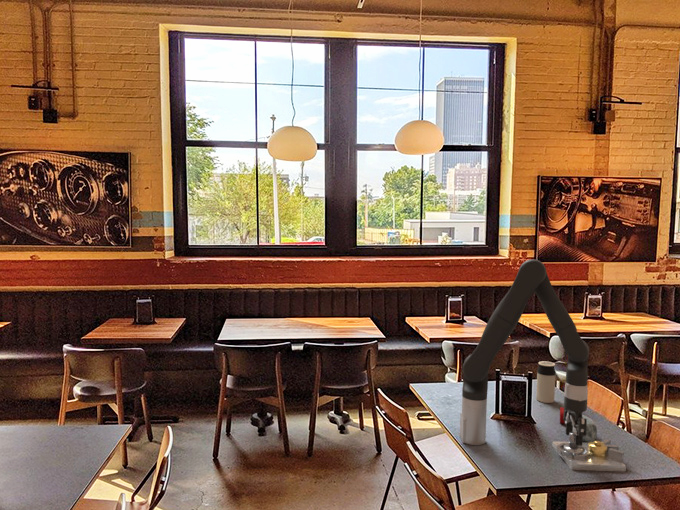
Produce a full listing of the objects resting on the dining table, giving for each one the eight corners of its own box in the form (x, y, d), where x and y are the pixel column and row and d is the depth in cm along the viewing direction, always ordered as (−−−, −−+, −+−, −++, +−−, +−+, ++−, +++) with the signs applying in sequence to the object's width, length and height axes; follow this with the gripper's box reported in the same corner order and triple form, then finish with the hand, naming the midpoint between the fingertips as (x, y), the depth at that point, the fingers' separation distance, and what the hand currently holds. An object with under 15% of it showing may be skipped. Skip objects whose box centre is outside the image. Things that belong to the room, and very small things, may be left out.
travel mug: (557, 403, 240) (558, 365, 239) (539, 403, 240) (541, 365, 239) (550, 397, 248) (551, 361, 247) (533, 397, 248) (535, 360, 247)
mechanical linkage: (578, 428, 212) (579, 416, 212) (559, 425, 215) (560, 413, 215) (577, 414, 227) (577, 403, 226) (559, 412, 230) (560, 401, 229)
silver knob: (567, 456, 181) (568, 436, 181) (560, 448, 188) (561, 429, 187) (586, 456, 181) (586, 437, 181) (578, 448, 187) (579, 430, 187)
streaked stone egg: (606, 437, 195) (592, 412, 197) (582, 447, 195) (569, 422, 198) (595, 432, 208) (582, 408, 210) (573, 441, 208) (560, 418, 211)
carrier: (568, 469, 176) (568, 451, 175) (549, 446, 194) (549, 430, 193) (629, 471, 175) (630, 454, 174) (605, 448, 193) (606, 432, 192)
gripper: (557, 389, 190) (555, 431, 191) (573, 402, 176) (571, 448, 177) (578, 389, 190) (576, 432, 191) (595, 403, 176) (593, 449, 177)
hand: (573, 440), depth 184 cm, fingers open, 8 cm apart
